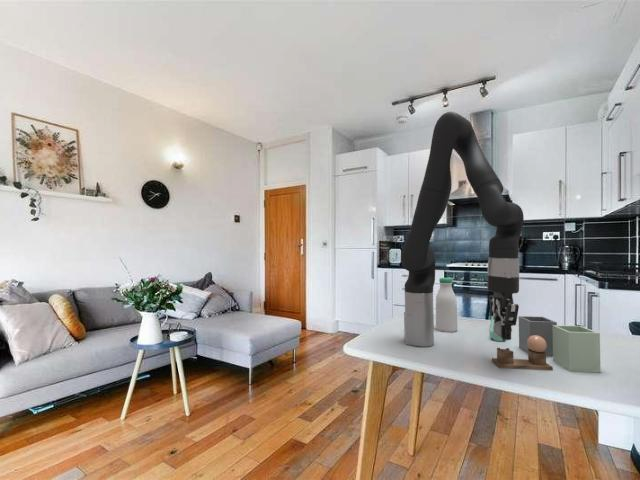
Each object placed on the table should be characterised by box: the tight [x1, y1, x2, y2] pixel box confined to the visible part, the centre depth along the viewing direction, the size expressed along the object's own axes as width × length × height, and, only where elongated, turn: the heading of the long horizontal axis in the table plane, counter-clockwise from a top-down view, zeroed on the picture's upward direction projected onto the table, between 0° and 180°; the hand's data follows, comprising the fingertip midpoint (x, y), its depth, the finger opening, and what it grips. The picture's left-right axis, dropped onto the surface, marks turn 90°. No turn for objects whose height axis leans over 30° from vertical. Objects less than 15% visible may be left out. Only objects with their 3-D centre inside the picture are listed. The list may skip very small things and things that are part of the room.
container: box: [489, 315, 505, 342], centre depth 117 cm, size 6×6×25 cm
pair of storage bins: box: [517, 315, 602, 373], centre depth 90 cm, size 11×18×10 cm, turn 171°
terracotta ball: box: [527, 335, 547, 352], centre depth 85 cm, size 4×4×4 cm
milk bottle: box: [435, 277, 458, 333], centre depth 122 cm, size 8×8×20 cm
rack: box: [491, 347, 554, 371], centre depth 85 cm, size 13×5×4 cm, turn 81°
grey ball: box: [493, 321, 513, 337], centre depth 86 cm, size 4×4×4 cm
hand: (502, 336), depth 86 cm, fingers closed on grey ball, 4 cm apart
